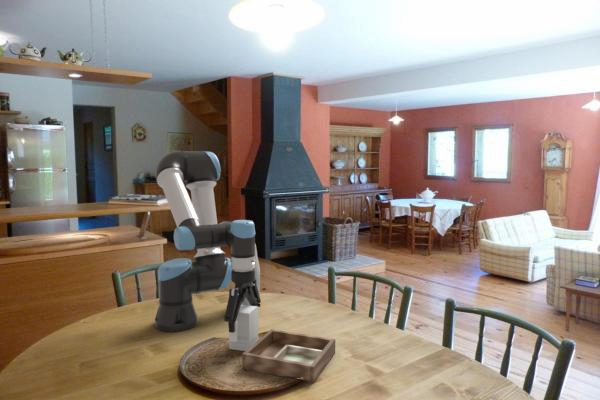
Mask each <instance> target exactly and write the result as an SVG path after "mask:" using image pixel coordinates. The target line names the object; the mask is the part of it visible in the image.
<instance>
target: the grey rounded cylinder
mask: <svg viewBox="0 0 600 400" xmlns="http://www.w3.org/2000/svg"><path fill="white" fill-rule="evenodd" d="M255 260H256V262H255V268H253V269H254V270H255V279H256V284H257V288H258V292H259V296H260V297H261V295H260V294H261V268H260V263H259V262H260V261H259V257H258V250H257V245H256V243H255ZM241 305H248V306H251V305H250V303H249V302H248V300H247V298H245V299H244V301H243V302H242V303H241Z"/></svg>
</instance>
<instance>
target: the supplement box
mask: <svg viewBox="0 0 600 400" xmlns="http://www.w3.org/2000/svg"><path fill="white" fill-rule="evenodd" d="M258 310H259V307H257V306H248V305H241V307H240V310H239V313H238V316H237V319H236V321H238V342H237V343H236V342H231V341H229V340H228V347H229V350H235V351H241V352H245V351H246V350H247V349H249V348H250V347H251V346H252V345H253V344H254V343H256V342H257V341H258V340H259V311H258Z"/></svg>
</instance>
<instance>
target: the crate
mask: <svg viewBox="0 0 600 400" xmlns="http://www.w3.org/2000/svg"><path fill="white" fill-rule="evenodd" d="M335 354H336V338H329V337H323V336H318V335H310V334H304V333H297V332H292V331H291V332H290V331H285V330H279V329H269V330H268V331H267V332H266V333H265V334H264V335H263V336H261V337H260V338H258V341H257V342H256V343H254V344H253V345H252V346H251V347H250V348H249V349H247V350H246V351H243V352H242V355H241V362H242V365H241V367H242V368H241V369H242V370H248V371H252V372H257V373H262V374H267V375H273V376H278V377H283V378H287V377H289V379H292V378H301V377H303V378H304V380H303V382H309V383H313V384H314V383H315V382H316V381H317V380H318V378H319V377H320V375H321V374H322V373H323V371H325V368H326V367H327V365H328V364H329V362H331V360H332V359H333V357H334V356H335Z"/></svg>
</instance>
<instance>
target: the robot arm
mask: <svg viewBox="0 0 600 400" xmlns="http://www.w3.org/2000/svg"><path fill="white" fill-rule="evenodd" d="M156 164H157V165H156V167H155V171H154V173H155V174H154V175H155V180H156V183H157V185H158V186H159V187H160V188H162V191H163V193H164V196H165V199H166V201H167V204H168V206H169V207H168V208H169V209H170V211H171V212H170V213H171V214H172V217H173V219H174V222H175V225H176V227H175V229H174V232H173V241H174V245H175V249H177V250H178V251H193V250H196V251H197V252H196V254H195V255H194V256H193V259H194V261H192V259H191V258H189V257H188V258H187V257H183V258H181V257H180V258H173V259H170V260H167V261H165V262H163V263H161V265H160V266H159V267H158V275H157V279H158V302H159V303H158V304H159V305H158V308H157V311H156V315H155V318H154V328H155V329H157V330H159V331H163V332H171V333H172V332H181V331H186V330H190V329H192V328H194V327H195V326H196V325H197V324H198V321H199V320H198V319H199V318H198V314H197V311H196V309H195V305H194V303H193V294H195V295H196V294H201V293H208V292H214V291H219V290H224V289H227V288H228V287H229V286H230V284H231V282H232V283H233V284H234V288H230V289H228V290H229V292H228V300H227V305H226V310H225V312H224V313H225V314H224V318H223V321H224V322H226V323H228V342H229V341H231V342H236V343H237V342H238V321H236V319H237V316H238V313H239V310H240V307H241V303H242V302H243V301H244V299H245V298H247V300H248V302H249V303H250V305H251V306H257V307H258V308H260V307H261V295H260V296H259V292H258V288H257V284H256V279H255V270H254V269H253V268H255V262H256V260H255V244H256V228H255V223H254V221H253V220H250V219H248V220H247V219H236V220H233V221H222V222H220V223H218V219H217V216H218V215H217V210H216V209H217V208H216V201H215V192H214V188H215V186H217V181H219V180H220V178H221V164H220V161H219V158H218V156H217V155H216V154H215V153H214V152H212V151H205V150H200V151H199V150H197V151H194V150H193V151H191V150H189V151H188V150H185V151H184V150H183V151H181V150H174V151H169V152H168V153H166V154H165V155H163V156H162V157H161V158H160V160H159V161H158V163H156ZM187 189H189V191H190V194H189V192H188V190H187ZM190 195H191V198H190ZM221 247H230V256H231V257H230V258H229V257H226V252H225V251H223V250H222V249H221Z"/></svg>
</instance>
